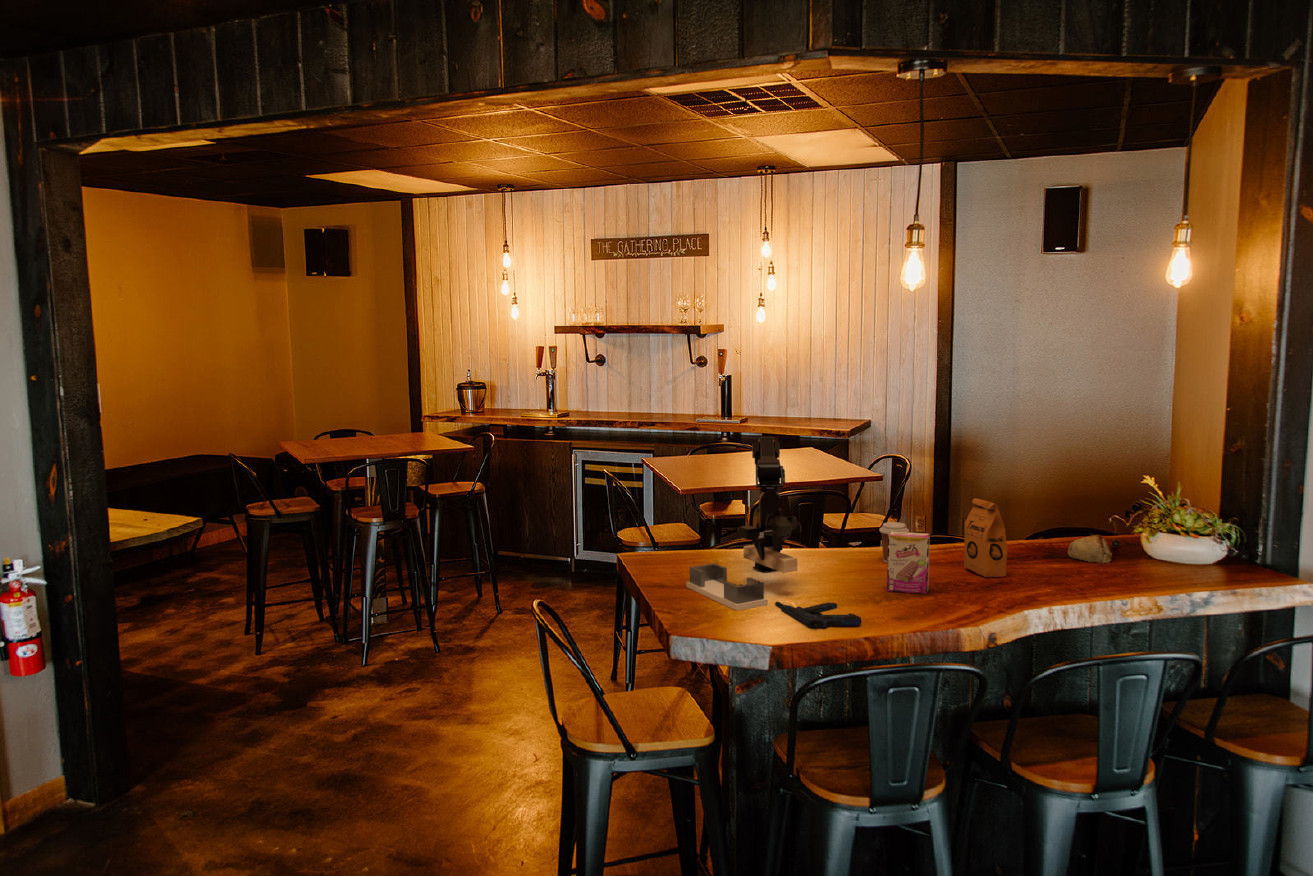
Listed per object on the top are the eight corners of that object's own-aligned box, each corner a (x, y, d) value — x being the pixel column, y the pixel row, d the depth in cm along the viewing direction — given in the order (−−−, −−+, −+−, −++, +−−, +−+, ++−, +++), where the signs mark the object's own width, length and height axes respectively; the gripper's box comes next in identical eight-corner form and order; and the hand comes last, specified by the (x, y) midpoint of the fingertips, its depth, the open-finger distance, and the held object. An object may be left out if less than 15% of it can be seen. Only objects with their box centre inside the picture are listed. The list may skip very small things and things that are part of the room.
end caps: (689, 582, 254) (689, 567, 253) (714, 578, 258) (714, 563, 257) (737, 604, 232) (736, 587, 231) (763, 599, 236) (763, 582, 235)
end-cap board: (686, 587, 254) (686, 581, 254) (715, 582, 259) (715, 577, 259) (736, 610, 231) (736, 605, 231) (767, 604, 235) (767, 599, 235)
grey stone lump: (1121, 564, 271) (1122, 538, 270) (1081, 565, 271) (1082, 539, 270) (1098, 553, 285) (1098, 529, 284) (1059, 554, 285) (1060, 529, 284)
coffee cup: (885, 556, 285) (885, 520, 284) (912, 560, 280) (913, 523, 279) (874, 562, 278) (874, 525, 277) (902, 566, 273) (903, 528, 271)
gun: (821, 604, 240) (771, 609, 235) (821, 594, 239) (771, 599, 235) (869, 627, 217) (815, 634, 212) (869, 616, 217) (815, 622, 212)
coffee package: (980, 579, 256) (982, 505, 254) (959, 569, 268) (960, 498, 266) (1012, 577, 258) (1014, 504, 255) (989, 567, 270) (991, 496, 268)
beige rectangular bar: (743, 557, 258) (743, 546, 258) (756, 555, 261) (756, 544, 260) (784, 573, 241) (784, 560, 241) (797, 570, 243) (797, 558, 243)
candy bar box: (886, 592, 245) (887, 534, 244) (888, 587, 250) (888, 530, 248) (928, 595, 242) (929, 536, 240) (929, 590, 246) (929, 533, 245)
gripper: (758, 513, 238) (758, 569, 239) (813, 506, 246) (813, 560, 248) (735, 507, 247) (736, 561, 249) (789, 500, 256) (789, 552, 258)
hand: (769, 559), depth 251 cm, fingers closed on beige rectangular bar, 4 cm apart
